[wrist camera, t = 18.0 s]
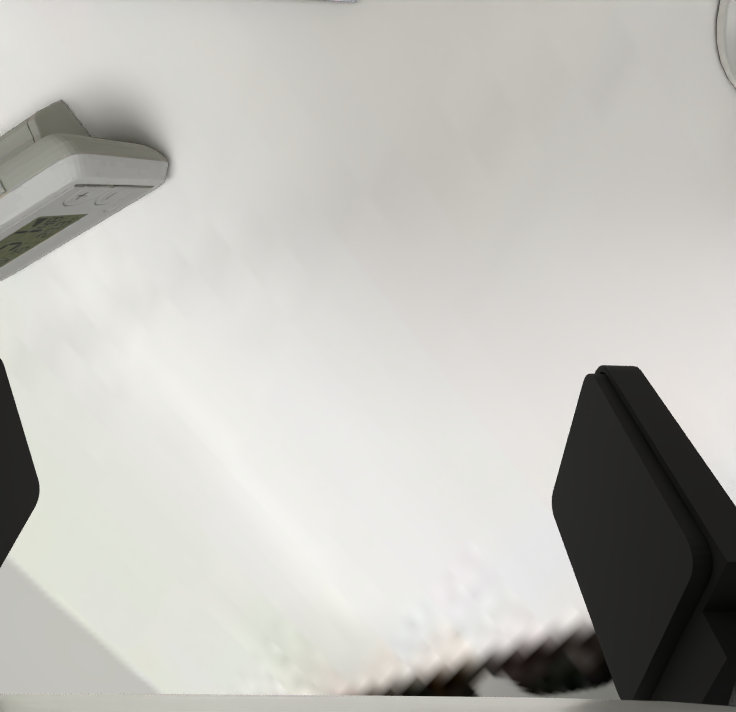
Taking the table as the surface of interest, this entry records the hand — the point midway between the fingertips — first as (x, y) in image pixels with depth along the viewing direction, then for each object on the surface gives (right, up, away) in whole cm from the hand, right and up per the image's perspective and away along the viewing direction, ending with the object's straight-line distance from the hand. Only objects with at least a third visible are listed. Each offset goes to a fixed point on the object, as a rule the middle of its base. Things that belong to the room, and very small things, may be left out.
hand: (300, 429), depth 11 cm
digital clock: (-19, +12, +32) cm, 39 cm away
